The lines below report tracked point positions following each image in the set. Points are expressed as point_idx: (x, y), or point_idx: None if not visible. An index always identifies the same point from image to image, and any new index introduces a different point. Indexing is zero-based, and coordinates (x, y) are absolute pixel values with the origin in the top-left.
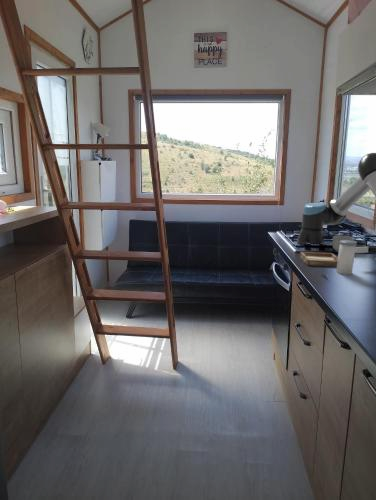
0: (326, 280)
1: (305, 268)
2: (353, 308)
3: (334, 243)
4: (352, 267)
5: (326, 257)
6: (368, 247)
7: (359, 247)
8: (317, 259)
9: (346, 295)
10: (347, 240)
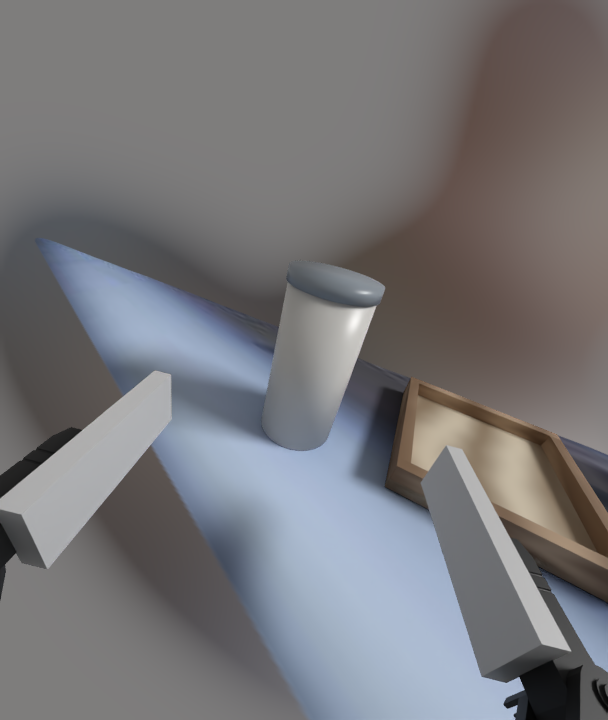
0: (250, 339)
1: (367, 371)
2: (99, 277)
3: None
4: (269, 404)
5: (555, 523)
6: (532, 642)
7: (458, 475)
8: (480, 448)
9: (145, 304)
10: (372, 287)
